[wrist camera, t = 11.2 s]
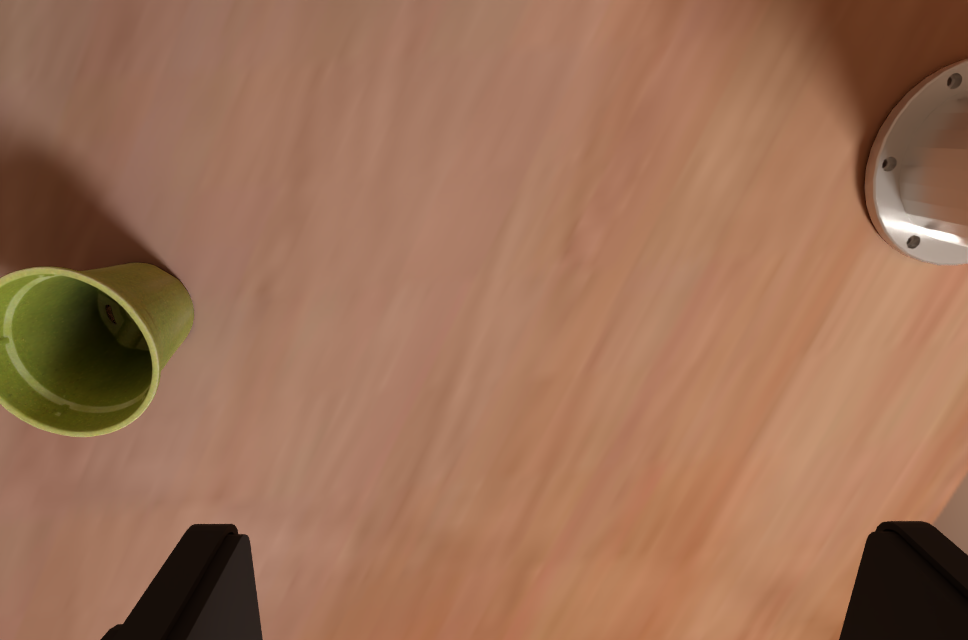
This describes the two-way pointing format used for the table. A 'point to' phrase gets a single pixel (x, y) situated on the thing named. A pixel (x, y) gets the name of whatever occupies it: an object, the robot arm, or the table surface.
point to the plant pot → (87, 344)
